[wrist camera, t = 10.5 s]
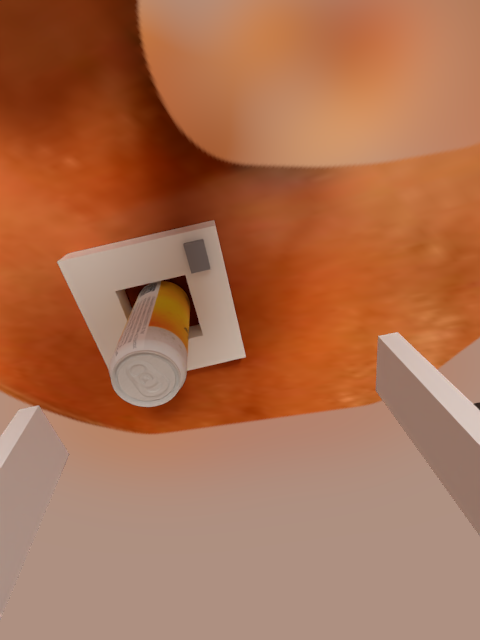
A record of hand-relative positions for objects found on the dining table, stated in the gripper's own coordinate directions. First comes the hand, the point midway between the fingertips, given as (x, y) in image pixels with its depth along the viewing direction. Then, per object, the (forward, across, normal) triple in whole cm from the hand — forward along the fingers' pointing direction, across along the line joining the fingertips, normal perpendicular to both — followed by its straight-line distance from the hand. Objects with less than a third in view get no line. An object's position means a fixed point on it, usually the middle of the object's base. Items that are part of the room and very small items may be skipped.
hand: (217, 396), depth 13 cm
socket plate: (+26, -6, -7) cm, 28 cm away
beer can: (+26, -6, -7) cm, 28 cm away
